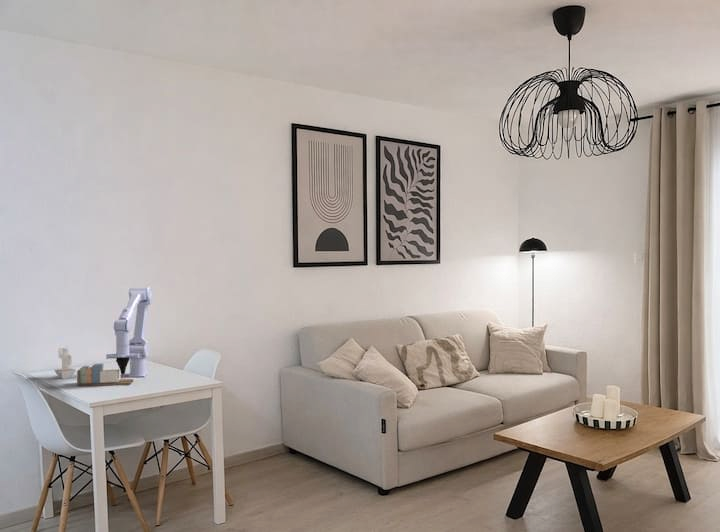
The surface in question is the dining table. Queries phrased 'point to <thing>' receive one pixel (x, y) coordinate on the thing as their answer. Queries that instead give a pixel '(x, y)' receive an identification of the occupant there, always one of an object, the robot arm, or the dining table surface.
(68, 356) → the figurine
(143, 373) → the robot arm
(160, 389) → the dining table surface
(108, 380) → the bookend
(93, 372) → the tall grey-blue block
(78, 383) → the rack
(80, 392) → the dining table surface
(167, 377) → the dining table surface
